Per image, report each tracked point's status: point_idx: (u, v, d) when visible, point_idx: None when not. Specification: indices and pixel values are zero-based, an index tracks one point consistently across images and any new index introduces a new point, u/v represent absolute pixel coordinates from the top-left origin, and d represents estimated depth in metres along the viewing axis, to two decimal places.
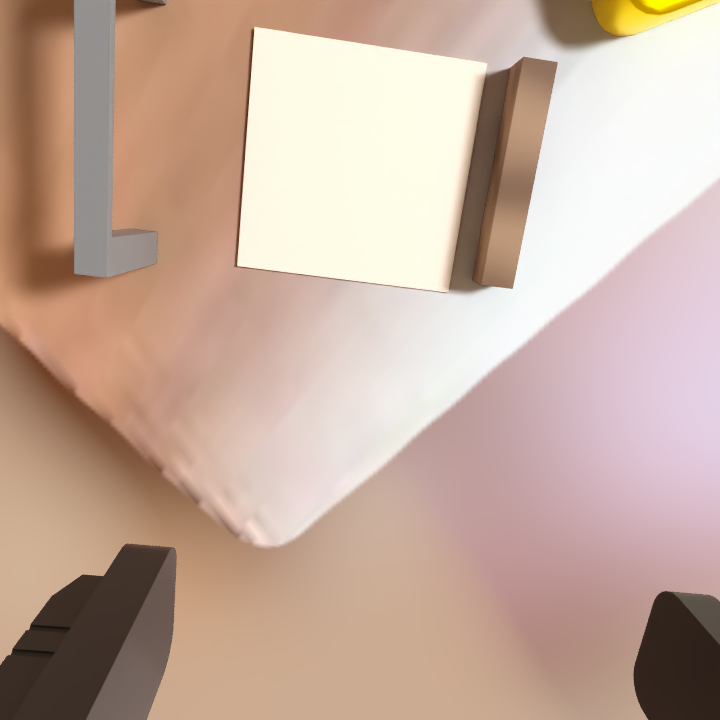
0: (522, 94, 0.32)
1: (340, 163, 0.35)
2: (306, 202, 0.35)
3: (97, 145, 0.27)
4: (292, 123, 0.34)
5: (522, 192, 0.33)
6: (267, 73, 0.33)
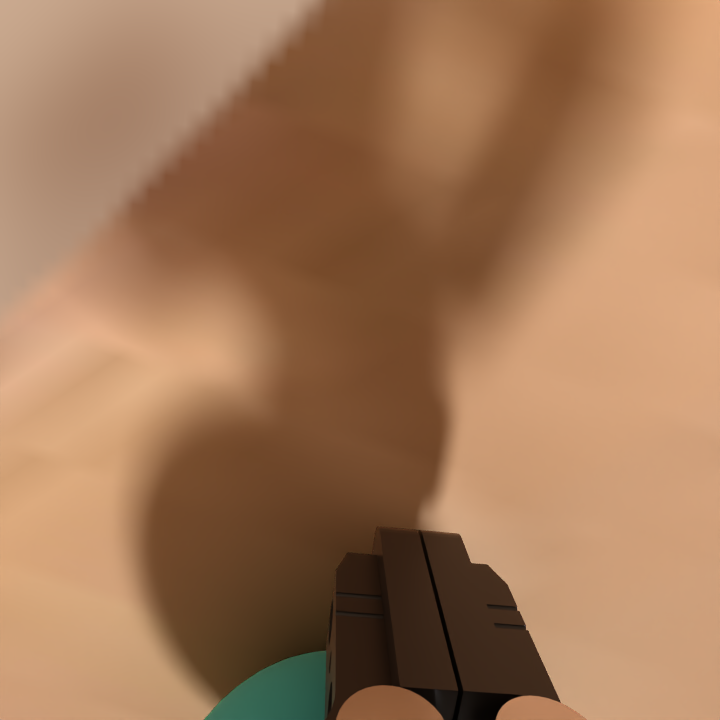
0: None
1: None
2: None
3: None
4: None
5: None
6: None
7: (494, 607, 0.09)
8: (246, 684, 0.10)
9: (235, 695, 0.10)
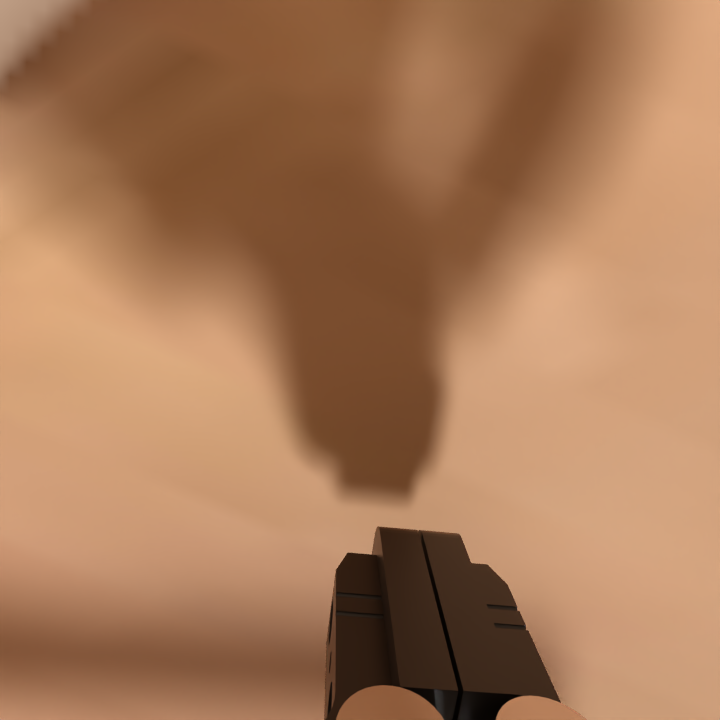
0: None
1: None
2: None
3: None
4: None
5: None
6: None
7: (494, 607, 0.09)
8: None
9: None
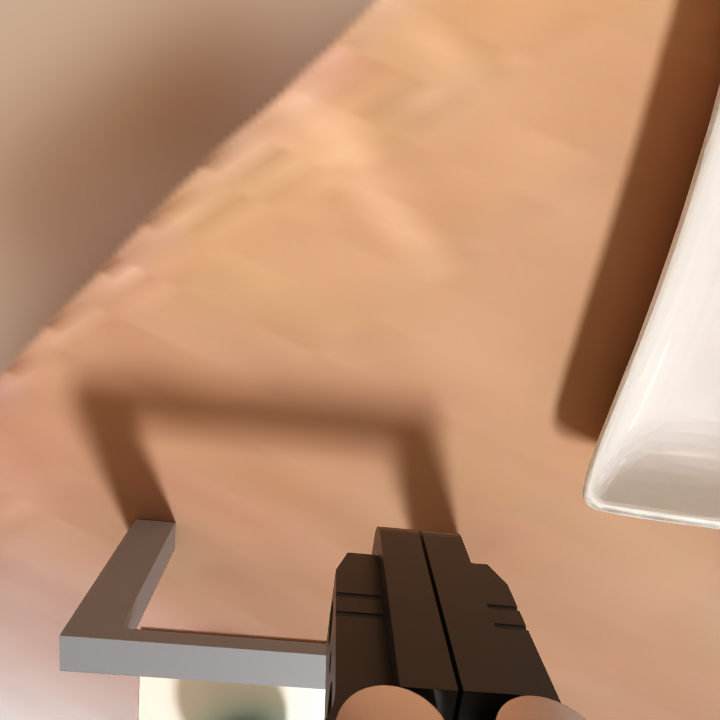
0: None
1: None
2: (221, 699, 0.31)
3: (228, 671, 0.21)
4: None
5: None
6: None
7: (494, 607, 0.09)
8: None
9: None
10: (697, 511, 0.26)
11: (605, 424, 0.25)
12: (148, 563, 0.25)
